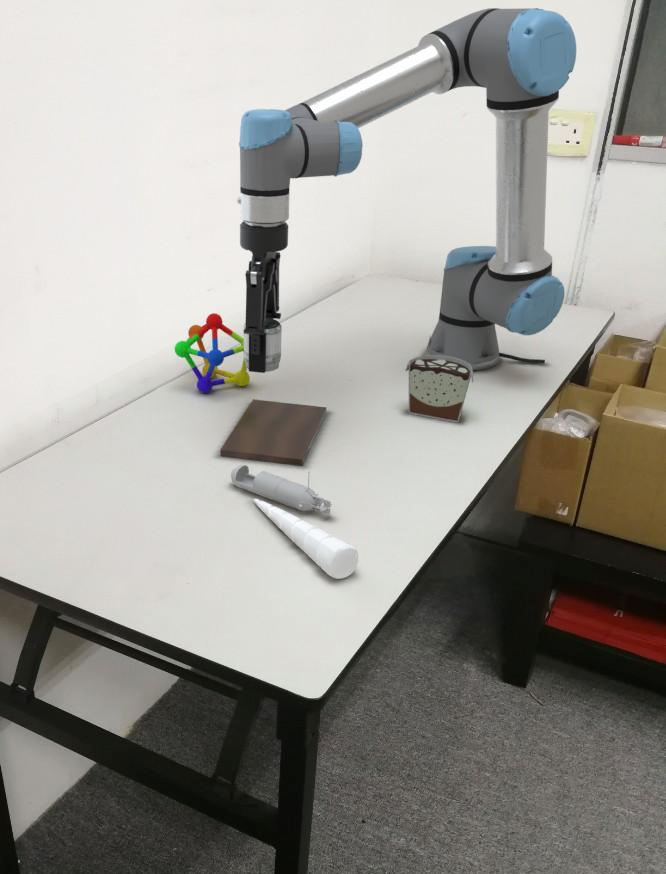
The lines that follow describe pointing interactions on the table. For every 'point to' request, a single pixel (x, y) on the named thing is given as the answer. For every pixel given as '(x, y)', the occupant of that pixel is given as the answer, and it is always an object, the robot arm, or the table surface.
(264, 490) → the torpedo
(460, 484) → the table surface
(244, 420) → the walnut board
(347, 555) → the unicorn horn
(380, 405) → the table surface
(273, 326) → the camera lens
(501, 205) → the robot arm
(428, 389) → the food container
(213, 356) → the educational toy
